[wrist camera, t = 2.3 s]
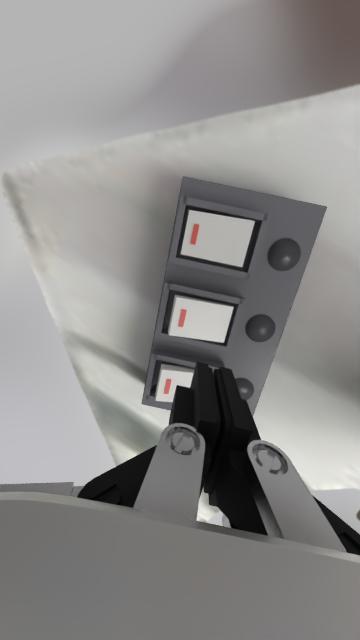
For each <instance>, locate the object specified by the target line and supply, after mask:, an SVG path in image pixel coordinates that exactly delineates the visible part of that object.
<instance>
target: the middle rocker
mask: <svg viewBox="0 0 360 640" xmlns="http://www.w3.org/2000/svg"><path fill="white" fill-rule="evenodd" d="M233 308H234V307H233V306H231V305H230V304H225V303H220V302H214V301H208V300H203V299H197V298H191V297H185V296H180V295H175V298H174V303H173V308H172V313H171V318H170V323H169V328H168V334H169V335H171V336H179V337H186V338H193V339H200V340H207V341H215V342H222V343H224V340H225V336H226V333H227V329H228V326H229V322H230V319H231V315H232V311H233Z"/></svg>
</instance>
